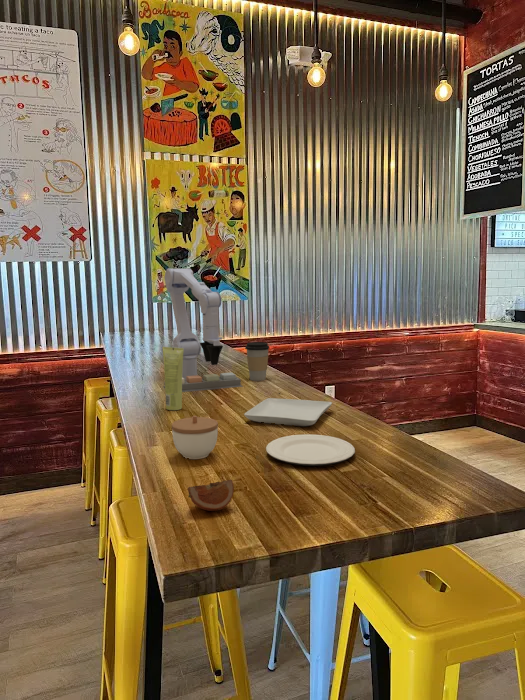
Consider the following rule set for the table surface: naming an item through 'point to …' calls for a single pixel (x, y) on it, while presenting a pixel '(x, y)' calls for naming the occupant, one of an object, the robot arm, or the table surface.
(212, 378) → the key sage
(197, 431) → the lidded jar
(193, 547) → the table surface
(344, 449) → the plate
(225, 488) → the fruit slice
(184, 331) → the robot arm
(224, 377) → the key slate
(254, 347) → the coffee cup
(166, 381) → the tube
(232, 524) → the table surface
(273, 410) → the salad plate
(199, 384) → the grey flat slotted tray
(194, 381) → the key terracotta
